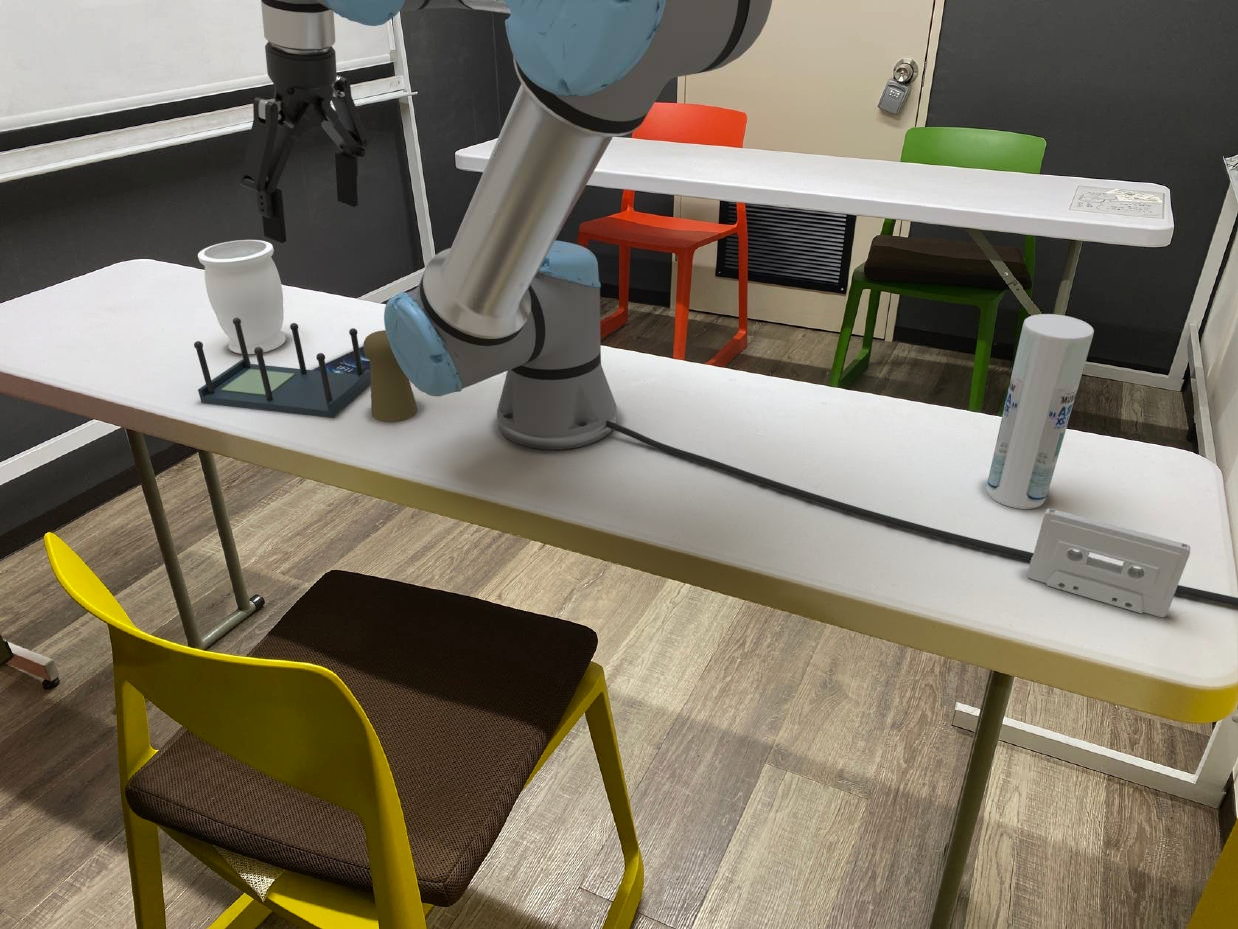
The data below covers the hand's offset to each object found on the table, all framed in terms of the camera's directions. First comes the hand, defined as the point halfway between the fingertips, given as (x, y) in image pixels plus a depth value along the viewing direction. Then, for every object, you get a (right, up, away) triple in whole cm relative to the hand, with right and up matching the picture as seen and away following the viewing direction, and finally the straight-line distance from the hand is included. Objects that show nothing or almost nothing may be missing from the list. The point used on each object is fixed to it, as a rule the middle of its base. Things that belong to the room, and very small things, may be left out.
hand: (313, 220), depth 114 cm
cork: (+9, -24, +5) cm, 26 cm away
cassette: (+84, -43, -29) cm, 99 cm away
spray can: (+83, -34, -14) cm, 91 cm away
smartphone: (+1, -16, +20) cm, 25 cm away
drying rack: (-7, -21, +10) cm, 24 cm away
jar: (-17, -13, +25) cm, 33 cm away
